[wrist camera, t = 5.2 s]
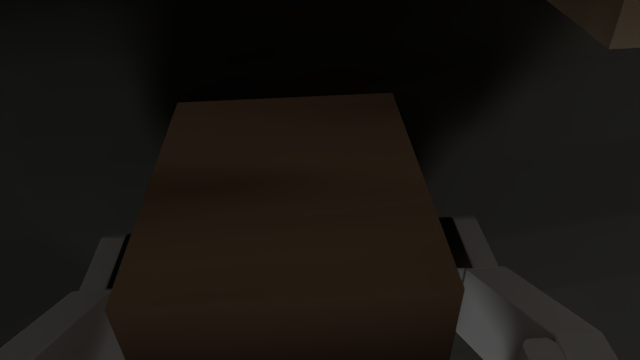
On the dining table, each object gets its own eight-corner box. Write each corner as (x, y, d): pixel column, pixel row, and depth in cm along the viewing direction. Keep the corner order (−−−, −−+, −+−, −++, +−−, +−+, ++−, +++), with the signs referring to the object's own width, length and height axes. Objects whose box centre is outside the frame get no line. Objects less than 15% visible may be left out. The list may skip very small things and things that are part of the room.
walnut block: (381, 246, 15) (427, 458, 10) (210, 256, 15) (174, 475, 10) (392, 92, 12) (464, 289, 7) (177, 102, 12) (104, 310, 7)
